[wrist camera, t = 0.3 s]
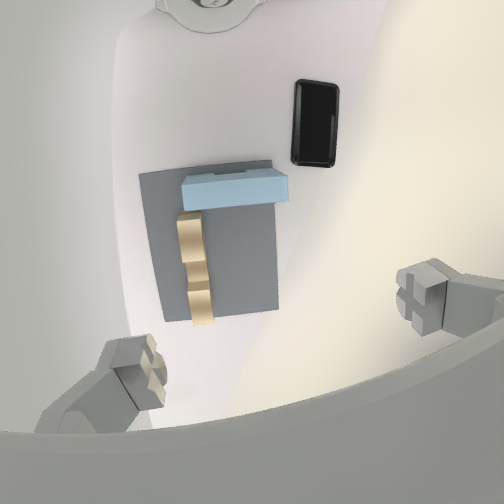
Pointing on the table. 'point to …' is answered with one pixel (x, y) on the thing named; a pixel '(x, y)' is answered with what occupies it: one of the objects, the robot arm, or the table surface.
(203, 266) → the beech rail
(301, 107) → the phone
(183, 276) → the mat
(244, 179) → the blue plate
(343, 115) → the table surface
